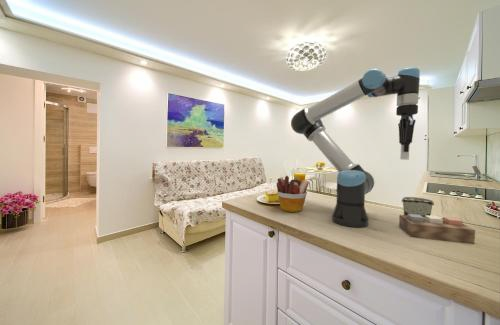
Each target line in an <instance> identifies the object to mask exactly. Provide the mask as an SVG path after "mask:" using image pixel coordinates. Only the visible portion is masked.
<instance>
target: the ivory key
mask: <svg viewBox="0 0 500 325" xmlns="http://www.w3.org/2000/svg"><path fill="white" fill-rule="evenodd" d="M441 218H442V217H439V216H437V215H430V216H428V215H425V221H427V222H428V223H436V224H443V219H441Z"/></svg>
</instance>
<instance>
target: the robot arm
mask: <svg viewBox="0 0 500 325" xmlns="http://www.w3.org/2000/svg"><path fill="white" fill-rule="evenodd" d="M420 76H421V74H420V69H419V68H418V67H414V66H411V67H405V68H403V69H400V70H399V71H398V73H397V75H395V76H392V77H387V75H386V73H384V72H383V71H382V70H380V69H378V68H371V69H369V70H367V71H366V72H365V73H364V74H363V76H362V78H360V79H359V80H356V81H355V82H353V83H350V85H348V86H346V87H344V88H343V89H340V90H338V91H337V92H335V93H334V94H332V95H330V96H328V97H326V98H324V99H322V100H321V101H319V102H317V103H315V104H313V105H311V106H310V107H304V108H302V109H301V110H299V111H298V112H297V113H296V112H295V114H294V115H293V116H292V117H291V120H290V126H291V129H292V130H293V132H295V133H296V134H299V135H303V136H304V137H305V138H306V139H307V140H308V142H313V144H314V145H315V146H316V147H317V149H318V150H319V151H321V153H322V154H323V156H324V157H325V158H326V159H327V160H328V161H329V163H330V164H331V165H332V166H333V167H334V168H335V170H337V172H338V173H337V176H336V204H335V207H334V209H333V211H332V215H331V220H332V222H334V223H335V224H338V225H339V226H345V227H348V228H349V227H351V228H364V227H367V226H368V225H369V217H368V214H367V211H366V207H365V200H366V195H367V194H369V193H371V191H372V190H373V188H374V186H375V179H374V177H373V175H372V174H371V173H370V172H368V171H366V170H365V169H364V168H363V167H362V166H361V165H360V164H359V163H355V162H353V160H352V159H351V158H349V156H348V155H347V154H346V153H345V152H344V151H343V149H341V148H340V146H339V145H338V144H337V143H336V142H335V141H334V140H333V138H332V137H331V136H330V135H329V133H327V132H326V127H325V125H324V123H323V121H322V120H321V119H323V118H325V117H327V116H328V115H331V114H333V113H334V112H336V111H338V110H340V109H342V108H345V107H346V106H348V105H350V104H353V103H354V102H356V101H359V99H361V98H364V97H366V96H367V97H368V98H377V97H383V96H388V95H389V96H390V95H397V96H396V110H395V111H396V112H395V114H396V116H399V117H400V119H399V122H398V125H397V126H398V139H399V140H398V142H399V144H400V158H399V159H400V160H403V161H404V160H406V161H407V160H409V159H410V144H412V143H413V137H414V129H415V124H416V119H414V117H413V116H414V115H417V114H418V113H419V105H418V104H419V100H420V97H419V92H420V82H421V80H420V79H421V78H420Z"/></svg>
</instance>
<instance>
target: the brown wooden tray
mask: <svg viewBox="0 0 500 325" xmlns="http://www.w3.org/2000/svg"><path fill="white" fill-rule="evenodd" d="M440 218H441V219H443V217H440ZM398 226H399V227H400V229H402V230H403V231H404V232H405V233H406V234H407V235H408V236H410V237H412V238H419V239H428V240H436V241H437V240H438V241H439V240H440V241H446V242H447V241H448V242H456V243H466V244H475V241H476V240H475V238H476V237H475V236H476V229H474V228H473V227H470V226H468V225H466V224H464V223H463V224H462V226H458V225H448V224H446V223H444V222H443V224H436V223H428V222H427V221H425V217H424V222H413V221H410V220H408V215H404V214H399V223H398Z"/></svg>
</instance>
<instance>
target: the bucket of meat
mask: <svg viewBox="0 0 500 325" xmlns="http://www.w3.org/2000/svg"><path fill="white" fill-rule="evenodd" d="M309 184H310V181H307V180H304V179H303V180H302V181H301V180H300V179H299V177H298V176H295V177H294V179H290V177H289V176H288V175H286V176H285V177H284V178H283V177H282V176H281V177H279V178H277V182H276V189H277V191H276V192H277V197H278V201H279V206H280V209H281V210H283V211H285V212H288V213H300V212H302V210H303V209H304V205H305V201H306V197H307V194H308V192H307V189H308V187H309Z"/></svg>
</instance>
